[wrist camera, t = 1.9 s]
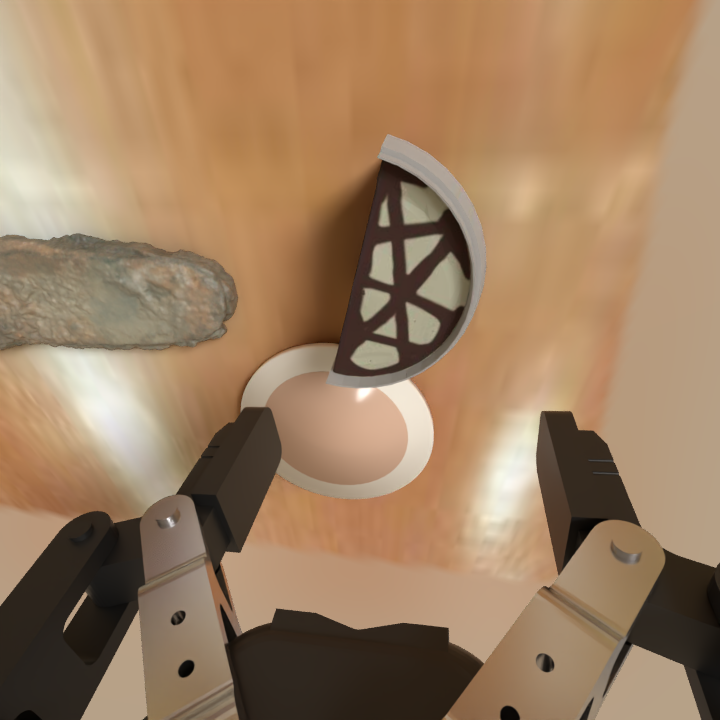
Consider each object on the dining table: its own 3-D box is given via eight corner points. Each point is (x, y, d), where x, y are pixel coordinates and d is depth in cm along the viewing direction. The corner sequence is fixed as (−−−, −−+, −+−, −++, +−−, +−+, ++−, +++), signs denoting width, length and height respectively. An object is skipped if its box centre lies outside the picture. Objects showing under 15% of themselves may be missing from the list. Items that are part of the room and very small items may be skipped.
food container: (440, 331, 32) (436, 423, 24) (356, 307, 32) (323, 391, 24) (511, 145, 25) (540, 184, 17) (404, 116, 25) (380, 140, 17)
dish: (270, 483, 44) (265, 496, 43) (224, 341, 36) (216, 351, 34) (437, 491, 41) (436, 505, 39) (430, 336, 32) (429, 347, 31)
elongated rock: (259, 342, 37) (236, 218, 32) (236, 375, 33) (206, 237, 28) (-108, 340, 42) (-177, 231, 37) (-173, 370, 37) (-262, 250, 32)
